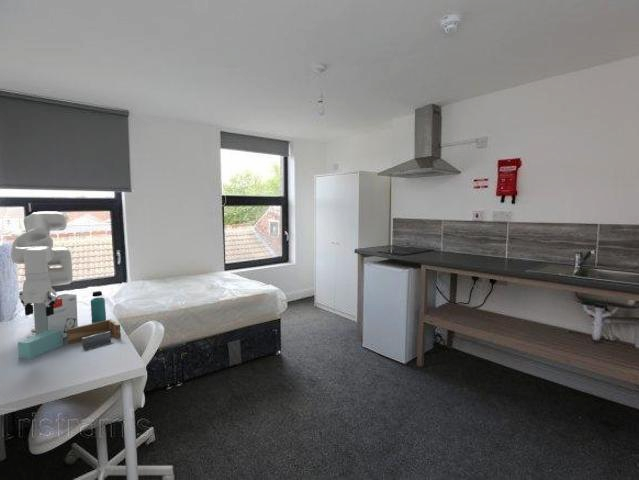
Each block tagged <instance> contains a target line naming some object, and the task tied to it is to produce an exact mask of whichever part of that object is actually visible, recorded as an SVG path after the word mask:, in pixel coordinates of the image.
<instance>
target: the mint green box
mask: <svg viewBox="0 0 639 480" xmlns="http://www.w3.org/2000/svg"><path fill="white" fill-rule="evenodd" d="M63 341H64V340H63V338H62V330H54V329H51V330H48V331H46V332H43V333H40V334H38V335H35V334H34V335H32V336H30V337H27V338H25V339H22V340H20V341H19V340H18V341H17V349H18V358H19V359H29V358H31V359H33V358H35V357H37V356H39V355H42V354H44V353H46V352H48V351H51V350H53V349H55V348H57V347H60V346H63V343H64V342H63Z"/></svg>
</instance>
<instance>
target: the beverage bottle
mask: <svg viewBox="0 0 639 480" xmlns="http://www.w3.org/2000/svg"><path fill="white" fill-rule="evenodd" d="M92 297H93V298H92V299H91V300H90V313H91V314H90V316H91V324H92V323H96V322H101V321H105V320H107V312H106V311H107V310H106V299H105V298H104V297H103V292H102V291H101V290H97V291H92Z"/></svg>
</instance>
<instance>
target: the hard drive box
mask: <svg viewBox="0 0 639 480" xmlns="http://www.w3.org/2000/svg"><path fill="white" fill-rule="evenodd" d="M57 296H58V299H57V302H56V303H55V305H54V306H53V307H54V314H53V315H50V316H46V307H47V306H46V305H45V304H44V303H32V305H33V318H34V319H33V320H34V326H35V331H34V336H35V335H38V334H40V333H43V332H46V331H48V330H51V329H54V330H62V339H64V338H66V337H67V329H70V328H74V327H78V326H79V324H78V322H79V321H78V302H77V301H78V299H77V298H78V296H77V294H72V293H71V294H70V293H63V294H59V295H58V294H57ZM48 303H49V302H48ZM67 338H68V337H67Z"/></svg>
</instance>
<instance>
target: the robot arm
mask: <svg viewBox="0 0 639 480" xmlns="http://www.w3.org/2000/svg"><path fill="white" fill-rule="evenodd" d="M67 221H68V220H67V219H66V216H65V215H64V214H63V213H62V212H58V211H37V212H36V211H35V212H32V213H31V214H29V215H27V216H25V217H24V218H23V226H24V229H25V231H26V232H24V233H22V234H20V235H19V236H18V237H16V238H15V239H14V241H13V242H12V245H11V250H10V251H11V252H10V258H11V261H12V262H13V263H14V264H16V265H24V277H25V278H24V279H25V280H24V281H23V284H22V293H21V294H20V295H19V296H18V298H19V300H20V303H21V304H22V306H23V307H24V314H25V315H24V316H29V315H34V304H33V303H44V304H45V305H46V306H47V307H46V316H50V315H53V314H54V307H53V306H54V305H55V303H56V302H57V299H58V293H57V292H56V290H55V289H54V288H52V287H57V286H63V285H70V284H71V283H72V282H73V277H74V276H73V263H72V254H71V250H69V249H68V248H67V247H54V239H53V238H52V237H51V232H53V231H54V232H55V231H56V232H57V231H58V232H59V231H64V230H66V228H67V225H68V224H67ZM53 266H54V267H53ZM55 266H60V267H55ZM48 267H49V268H48ZM48 302H49V303H48ZM31 331H33V332H35V325H33V326H32V327H31Z"/></svg>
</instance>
